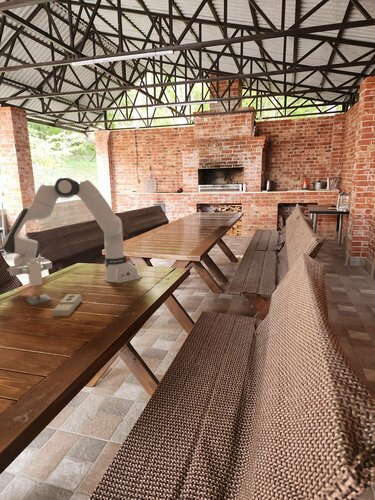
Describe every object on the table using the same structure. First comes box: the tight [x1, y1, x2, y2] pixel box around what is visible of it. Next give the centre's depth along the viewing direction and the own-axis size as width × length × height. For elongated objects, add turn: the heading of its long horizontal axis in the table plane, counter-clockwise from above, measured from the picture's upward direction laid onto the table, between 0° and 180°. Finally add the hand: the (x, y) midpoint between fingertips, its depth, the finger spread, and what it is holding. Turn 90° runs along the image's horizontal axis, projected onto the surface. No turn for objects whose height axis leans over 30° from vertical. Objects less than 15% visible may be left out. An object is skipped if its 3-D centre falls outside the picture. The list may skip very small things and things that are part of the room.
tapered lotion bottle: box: [27, 258, 44, 287], centre depth 159 cm, size 5×5×13 cm
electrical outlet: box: [52, 293, 83, 317], centre depth 152 cm, size 7×4×18 cm
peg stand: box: [25, 284, 53, 307], centre depth 162 cm, size 10×10×8 cm
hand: (34, 270), depth 158 cm, fingers closed on tapered lotion bottle, 5 cm apart
